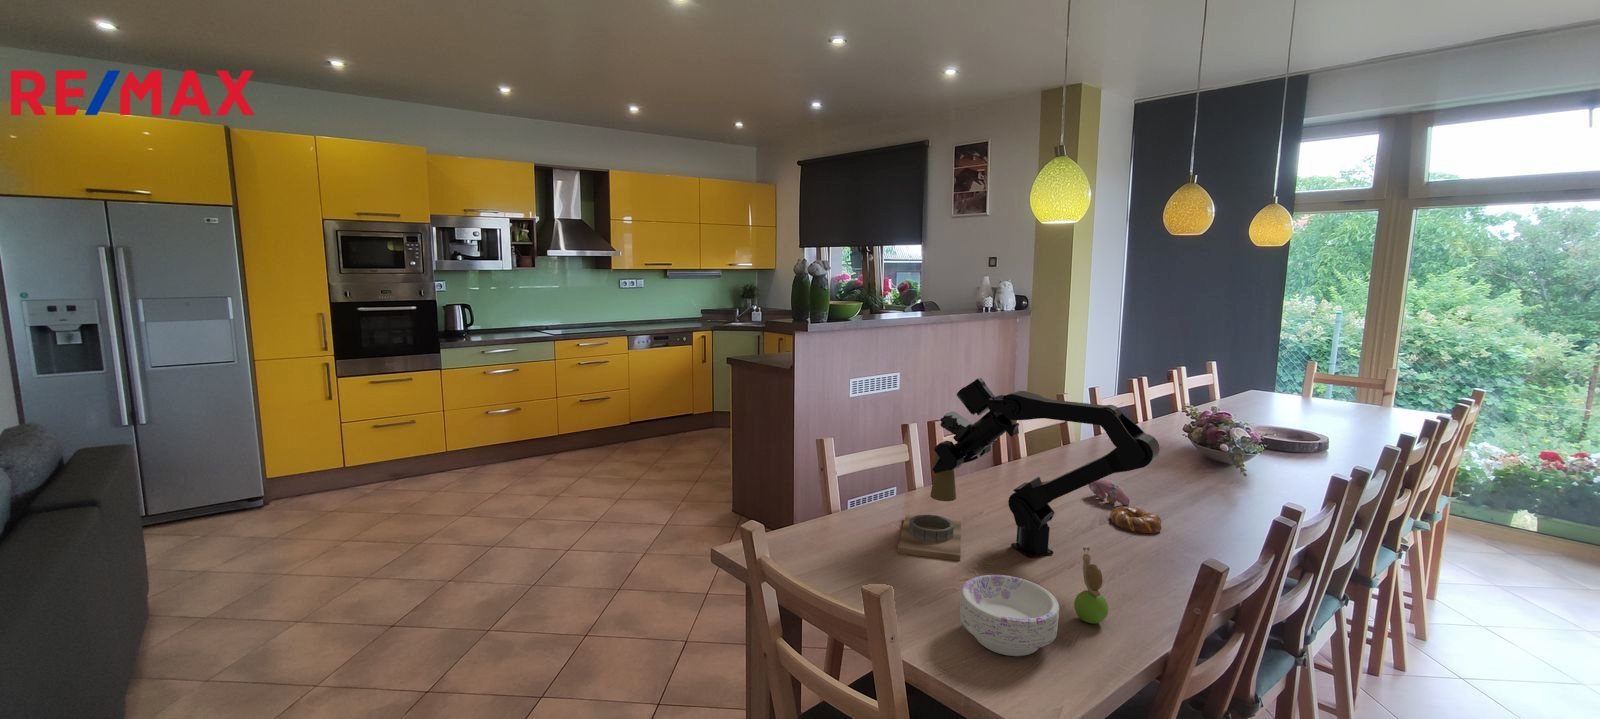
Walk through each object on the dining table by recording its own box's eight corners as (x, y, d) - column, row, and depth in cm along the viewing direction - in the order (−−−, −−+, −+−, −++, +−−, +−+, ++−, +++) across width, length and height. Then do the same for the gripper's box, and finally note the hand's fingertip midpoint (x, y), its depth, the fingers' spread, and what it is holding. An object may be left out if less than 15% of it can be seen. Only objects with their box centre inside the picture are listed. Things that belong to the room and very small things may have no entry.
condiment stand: (905, 519, 160) (906, 504, 159) (960, 525, 157) (961, 510, 156) (897, 552, 141) (898, 536, 140) (960, 560, 137) (961, 543, 137)
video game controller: (1090, 501, 181) (1083, 480, 179) (1101, 492, 182) (1095, 471, 180) (1121, 513, 172) (1115, 491, 170) (1132, 504, 174) (1126, 482, 171)
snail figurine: (1094, 610, 118) (1100, 547, 117) (1112, 629, 112) (1119, 563, 110) (1065, 610, 118) (1070, 546, 117) (1081, 629, 112) (1087, 562, 110)
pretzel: (1097, 520, 163) (1099, 506, 162) (1126, 514, 168) (1128, 500, 167) (1142, 538, 152) (1143, 523, 152) (1171, 531, 157) (1173, 516, 157)
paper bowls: (1017, 680, 97) (1020, 630, 96) (939, 633, 110) (941, 588, 109) (1075, 647, 106) (1079, 601, 105) (997, 607, 119) (1000, 565, 117)
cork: (947, 491, 160) (949, 447, 159) (961, 499, 155) (963, 454, 153) (925, 494, 158) (927, 449, 157) (938, 502, 153) (940, 456, 151)
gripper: (981, 397, 158) (937, 434, 166) (944, 408, 144) (898, 448, 152) (1011, 434, 154) (965, 471, 162) (976, 450, 140) (927, 489, 148)
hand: (939, 468), depth 156 cm, fingers closed on cork, 5 cm apart
